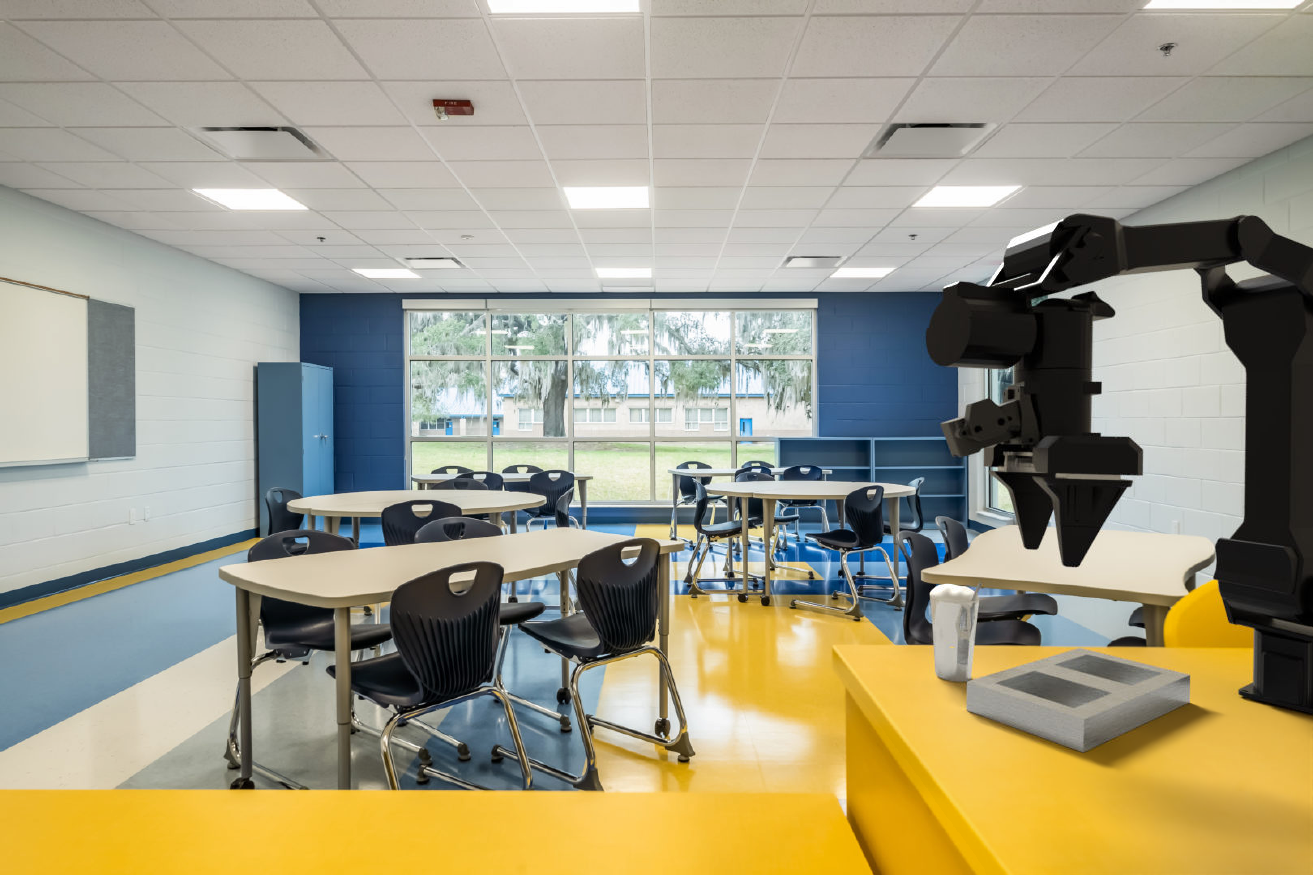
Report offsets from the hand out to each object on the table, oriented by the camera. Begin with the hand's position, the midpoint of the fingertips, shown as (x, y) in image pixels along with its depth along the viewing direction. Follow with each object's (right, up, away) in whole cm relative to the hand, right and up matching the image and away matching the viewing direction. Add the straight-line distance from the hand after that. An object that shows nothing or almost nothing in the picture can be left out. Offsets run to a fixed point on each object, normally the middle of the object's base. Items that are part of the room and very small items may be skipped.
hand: (1049, 557), depth 58 cm
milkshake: (-3, -14, +11) cm, 18 cm away
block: (+5, -14, +4) cm, 15 cm away
